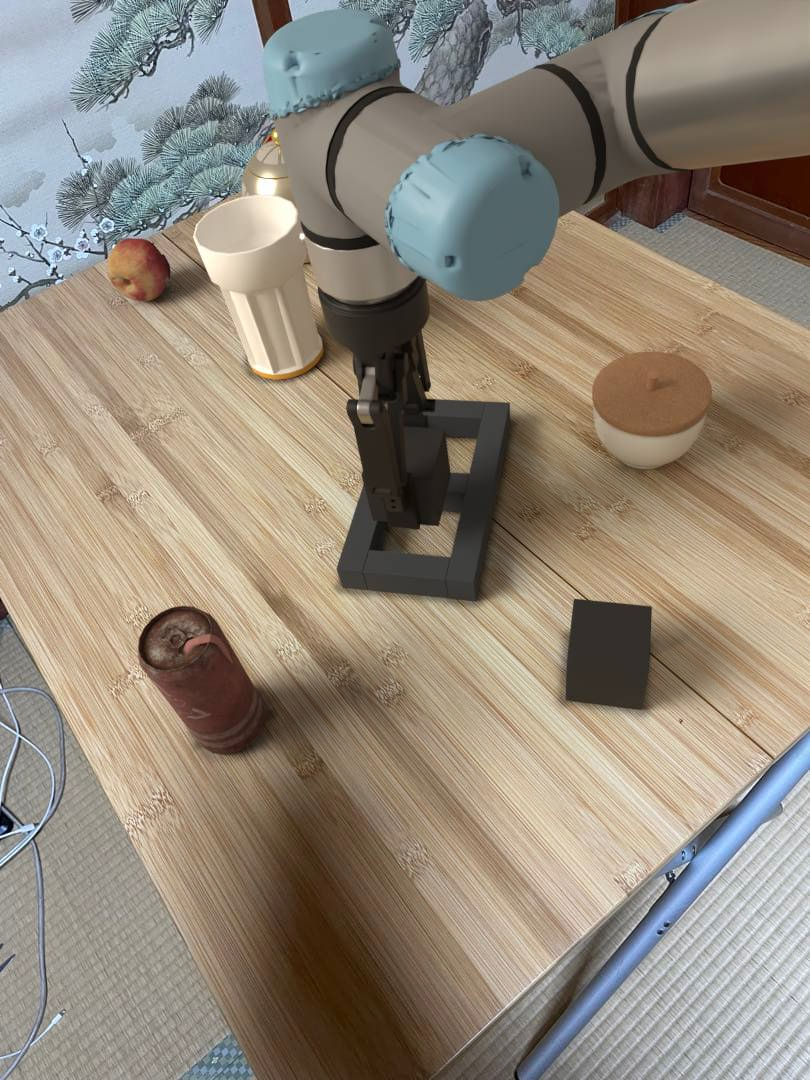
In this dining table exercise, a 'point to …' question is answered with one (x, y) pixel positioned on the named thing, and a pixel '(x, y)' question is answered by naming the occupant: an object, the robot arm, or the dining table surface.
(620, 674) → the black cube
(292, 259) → the cup
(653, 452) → the trinket box
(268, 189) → the teapot
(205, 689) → the can
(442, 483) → the dark grey cube
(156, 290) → the fruit
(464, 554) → the base frame
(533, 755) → the dining table surface
